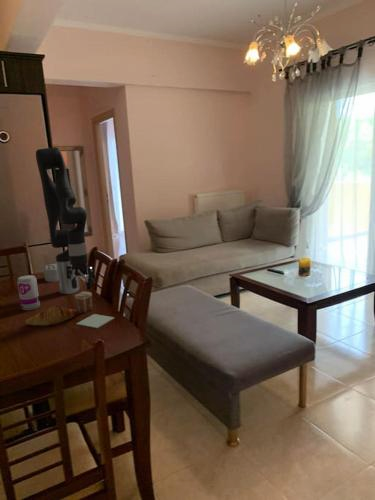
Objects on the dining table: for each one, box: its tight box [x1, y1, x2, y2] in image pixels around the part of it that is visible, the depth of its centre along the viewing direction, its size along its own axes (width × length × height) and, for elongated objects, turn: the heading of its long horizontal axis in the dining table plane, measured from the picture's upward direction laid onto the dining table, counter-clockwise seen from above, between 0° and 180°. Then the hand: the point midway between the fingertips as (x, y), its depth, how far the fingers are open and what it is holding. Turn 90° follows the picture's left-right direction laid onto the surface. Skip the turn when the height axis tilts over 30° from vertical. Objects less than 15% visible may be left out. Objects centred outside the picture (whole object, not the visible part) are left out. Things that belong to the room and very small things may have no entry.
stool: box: [74, 291, 93, 314], centre depth 167 cm, size 5×5×8 cm
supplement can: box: [16, 274, 41, 311], centre depth 174 cm, size 8×8×15 cm
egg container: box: [43, 262, 59, 283], centre depth 223 cm, size 10×13×9 cm
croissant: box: [25, 305, 79, 327], centre depth 157 cm, size 21×10×8 cm, turn 113°
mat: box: [75, 313, 115, 329], centre depth 155 cm, size 11×11×1 cm
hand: (82, 289), depth 165 cm, fingers open, 8 cm apart
